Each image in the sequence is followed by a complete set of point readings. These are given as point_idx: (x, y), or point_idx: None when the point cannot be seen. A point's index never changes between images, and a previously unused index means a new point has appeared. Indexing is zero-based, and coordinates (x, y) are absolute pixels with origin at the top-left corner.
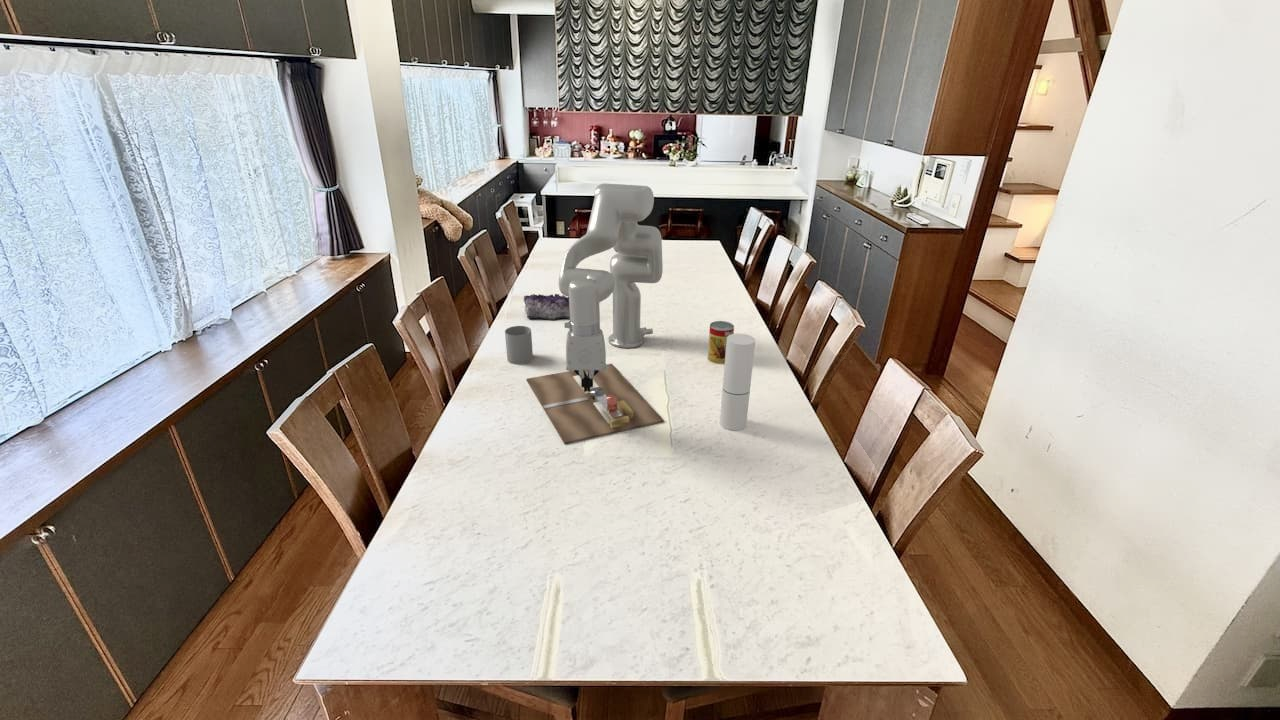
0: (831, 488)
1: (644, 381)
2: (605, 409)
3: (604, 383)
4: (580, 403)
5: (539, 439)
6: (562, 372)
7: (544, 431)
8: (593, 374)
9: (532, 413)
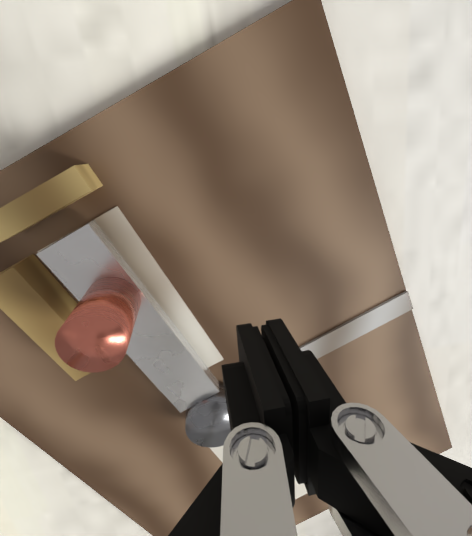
0: None
1: (62, 522)
2: (150, 301)
3: (202, 479)
4: None
5: (429, 44)
6: None
7: (405, 124)
8: (224, 488)
9: (443, 262)
